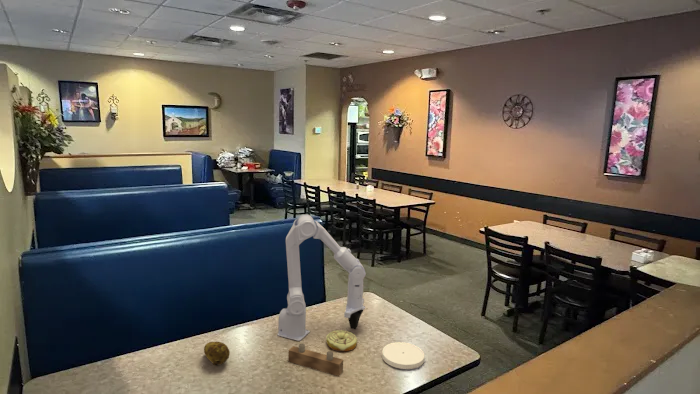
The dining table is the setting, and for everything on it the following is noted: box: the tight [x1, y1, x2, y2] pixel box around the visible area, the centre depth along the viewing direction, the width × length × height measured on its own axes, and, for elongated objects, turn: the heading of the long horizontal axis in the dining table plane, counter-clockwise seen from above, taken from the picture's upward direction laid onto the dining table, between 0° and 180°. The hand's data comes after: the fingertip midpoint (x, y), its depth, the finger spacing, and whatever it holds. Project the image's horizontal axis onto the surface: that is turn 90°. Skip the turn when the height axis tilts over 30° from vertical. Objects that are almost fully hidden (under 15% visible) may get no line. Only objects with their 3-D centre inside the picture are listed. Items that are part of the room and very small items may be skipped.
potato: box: [203, 341, 230, 366], centre depth 133 cm, size 8×13×8 cm, turn 13°
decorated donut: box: [325, 329, 358, 352], centre depth 147 cm, size 10×11×4 cm
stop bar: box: [287, 343, 344, 377], centre depth 133 cm, size 18×3×6 cm, turn 67°
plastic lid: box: [381, 341, 425, 370], centre depth 139 cm, size 14×14×2 cm
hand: (353, 328), depth 157 cm, fingers closed
